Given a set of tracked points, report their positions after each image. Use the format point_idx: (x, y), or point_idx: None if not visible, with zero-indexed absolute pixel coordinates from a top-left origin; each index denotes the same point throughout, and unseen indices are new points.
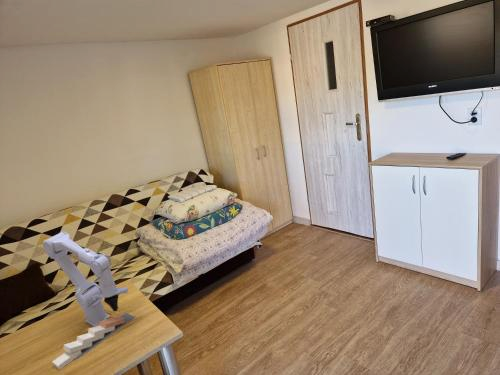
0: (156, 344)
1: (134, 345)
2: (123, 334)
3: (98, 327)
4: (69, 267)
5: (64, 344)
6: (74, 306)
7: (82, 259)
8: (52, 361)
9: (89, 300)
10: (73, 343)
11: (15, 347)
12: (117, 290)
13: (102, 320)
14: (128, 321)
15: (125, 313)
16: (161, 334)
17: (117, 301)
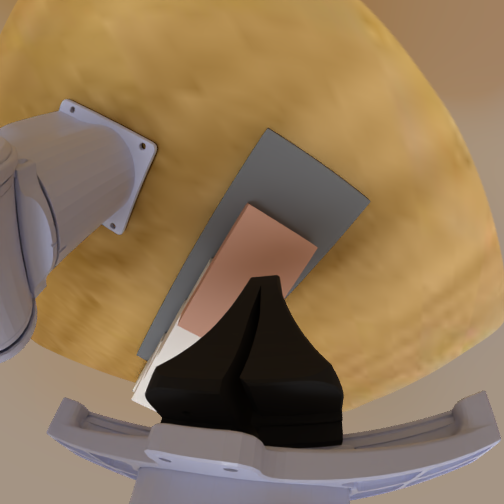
0: (451, 358)
1: (387, 361)
2: (328, 312)
3: (194, 337)
4: None
5: (133, 399)
6: None
7: None
8: (132, 390)
9: (16, 328)
10: None
11: None
12: (364, 490)
13: (187, 310)
14: (332, 234)
15: (271, 138)
16: (472, 324)
17: (290, 317)
